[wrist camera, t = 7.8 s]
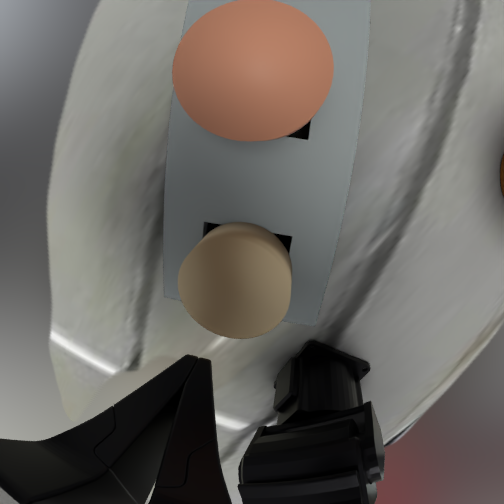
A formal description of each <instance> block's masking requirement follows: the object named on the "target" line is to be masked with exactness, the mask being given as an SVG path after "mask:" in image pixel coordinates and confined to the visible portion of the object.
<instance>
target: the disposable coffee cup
mask: <svg viewBox="0 0 504 504" xmlns="http://www.w3.org/2000/svg"><path fill="white" fill-rule="evenodd" d="M500 180H501V188H502V193H503V196H504V155H503V158H502V163H501V170H500Z"/></svg>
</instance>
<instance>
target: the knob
mask: <svg viewBox="0 0 504 504" xmlns="http://www.w3.org/2000/svg"><path fill="white" fill-rule="evenodd" d="M291 284H292V263H291V259H290V256H289V254H288V251H287V249H286V248H285V246H284V245H283V243H282V242H281V241H280V240H279V239H278V238H277V237H276V236H275V235H274V233H271V232H270V231H268V230H267V229H265V228H263V227H261V226H258V225H255V224H251V223H246V222H232V223H227V224H223V225H220V226H218V227H216V228H214V229H213V230H211V231H210V232H209V233H208V234H207V235H205V236H204V238H203V239H202V240H201V241H200V242H199V243H198V244H197V245H196V246H195V247H194V249H193V250H192V251H191V252H190V253H189V254H188V255H187V257H186V258H185V259H184V261H183V263H182V265H181V267H180V270H179V274H178V291H179V295H180V298H181V301H182V303H183V305H184V307H185V308H186V310H187V312H188V313H189V314H190V315H191V317H192V318H193V319H194V320H195V321H196V322H197V323H199V324H200V325H201V326H202V327H204V328H206V329H207V330H209V331H211V332H213V333H215V334H218V335H220V336H224V337H228V338H234V339H247V338H253V337H257V336H260V335H263V334H265V333H267V332H269V331H271V330H272V329H273V328H275V327H276V326H277V325H278V324H279V323H280V322H281V321H282V319H283V318H284V316H285V315H286V313H287V310H288V307H289V304H290V297H291Z"/></svg>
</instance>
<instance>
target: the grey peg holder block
mask: <svg viewBox="0 0 504 504" xmlns="http://www.w3.org/2000/svg"><path fill="white" fill-rule="evenodd" d="M233 1H237V0H189V2H188V6H187V11H186V16H185V20H184V25H183V31H182V36H181V40H182V38H183V36H184V35H185V33H186V32H187V31H188V29H189V28H190V27H191V26H192V25H193V24H194V23H195V22H196V21H197V20H198V19H200V18H201V17H202V16H203V15H205V14H206V13H208V12H209V11H211V10H213V9H215V8H217V7H219V6H221V5H224V4H226V3H229V2H233ZM274 1H278V2H282V3H285V4H287V5H290V6H292V7H294V8H296V9H298V10H300V11H301V12H303V13H304V14H306V15H307V16H308V17H309V18H311V19H312V20H313V21H314V22H315V23H316V24H317V25H318V27H319V28H320V29H321V30H322V32H323V33H324V35H325V37H326V38H327V41H328V43H329V45H330V48H331V51H332V55H333V63H334V73H333V80H332V85H331V88H330V90H329V93H328V95H327V97H326V99H325V101H324V103H323V104H322V106H321V107H320V109H319V110H318V111H317V113H316V114H315V115H314V117H313V118H312V119H311V120H310V128H309V135H308V140H304V139H298V138H292V137H286V136H285V137H282V138H279V139H274V140H268V141H251V142H250V141H237V140H231V139H227V138H224V137H220V136H218V135H215V134H213V133H211V132H209V131H207V130H206V129H204V128H202V127H201V126H200V125H198V124H197V123H196V122H195V121H193V119H192V118H191V117H190V116H189V115H188V114H187V113H186V112H185V110H184V109H183V107H182V106H181V104H180V102H179V100H178V98H177V95H176V92H175V89H174V87H173V95H172V103H171V112H170V121H169V132H168V143H167V156H166V172H165V191H164V224H163V272H164V297H167V298H171V299H175V300H179V301H181V298H180V295H179V291H178V274H179V270H180V267H181V265H182V263H183V261H184V259H185V258H186V257H187V255H188V254H189V253H190V252H191V251H192V250H193V249H194V247H195V246H196V245H197V244H198V243H199V242H200V241H201V240H202V239H203V238H204V236H205V235H207V228H208V222H209V223H215V224H222V225H223V224H227V223H232V222H246V223H251V224H255V225H258V226H261V227H263V228H265V229H267V230H268V231H270V232H271V233H276V234H282V235H288V236H292V239H291V245H290V250H289V256H290V259H291V263H292V284H291V297H290V304H289V307H288V310H287V313H286V315H285V316H284V318H283V319H282V321H284V322H290V323H296V324H303V325H309V326H315V325H316V321H317V318H318V315H319V311H320V308H321V304H322V301H323V297H324V293H325V290H326V286H327V282H328V279H329V275H330V271H331V267H332V263H333V259H334V255H335V251H336V247H337V242H338V238H339V234H340V229H341V225H342V220H343V216H344V211H345V206H346V202H347V197H348V192H349V186H350V181H351V176H352V170H353V165H354V159H355V153H356V147H357V141H358V134H359V128H360V121H361V113H362V106H363V98H364V89H365V80H366V70H367V58H368V46H369V30H370V5H371V0H274Z"/></svg>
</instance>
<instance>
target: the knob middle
mask: <svg viewBox="0 0 504 504" xmlns="http://www.w3.org/2000/svg"><path fill="white" fill-rule="evenodd" d="M333 73H334V63H333V55H332V51H331V48H330V45H329V43H328V41H327V38H326V37H325V35H324V33H323V32H322V30H321V29H320V28H319V27H318V25H317V24H316V23H315V22H314V21H313V20H312V19H311V18H309V17H308V16H307V15H306V14H304V13H303V12H301V11H300V10H298V9H296V8H294V7H292V6H290V5H287V4H285V3H282V2H278V1H274V0H237V1H233V2H229V3H226V4H224V5H221V6H219V7H217V8H215V9H213V10H211V11H209V12H208V13H206V14H205V15H203V16H202V17H201V18H200V19H198V20H197V21H196V22H195V23H194V24H193V25H192V26H191V27H190V28H189V29H188V31H187V32H186V33H185V35H184V36H183V38H182V40H181V42H180V43H179V45H178V48H177V51H176V53H175V57H174V61H173V70H172V75H173V84H174V89H175V92H176V95H177V98H178V100H179V102H180V104H181V106H182V107H183V109H184V110H185V112H186V113H187V114H188V115H189V116H190V117H191V118H192V119H193V121H195V122H196V123H197V124H198V125H200V126H201V127H202V128H204V129H206V130H207V131H209V132H211V133H213V134H215V135H218V136H220V137H224V138H227V139H231V140H237V141H250V142H251V141H268V140H274V139H279V138H282V137H285V136H288V135H290V134H292V133H294V132H296V131H297V130H299V129H301V128H302V127H303V126H305V125H306V124H307V123H308V122H309V121H310V120H311V119H312V118H313V117H314V115H315V114H316V113H317V111H318V110H319V109H320V107H321V106H322V104H323V103H324V101H325V99H326V97H327V95H328V93H329V90H330V88H331V85H332V80H333Z"/></svg>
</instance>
